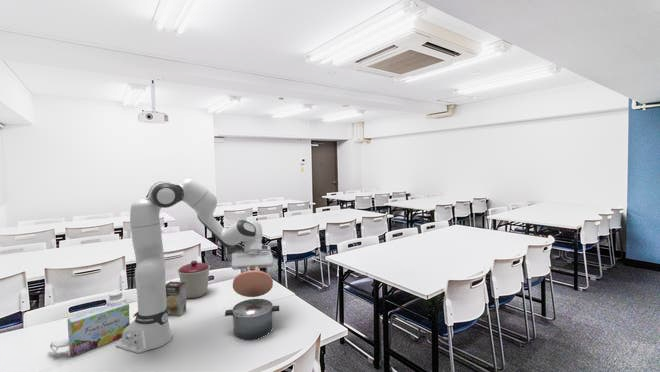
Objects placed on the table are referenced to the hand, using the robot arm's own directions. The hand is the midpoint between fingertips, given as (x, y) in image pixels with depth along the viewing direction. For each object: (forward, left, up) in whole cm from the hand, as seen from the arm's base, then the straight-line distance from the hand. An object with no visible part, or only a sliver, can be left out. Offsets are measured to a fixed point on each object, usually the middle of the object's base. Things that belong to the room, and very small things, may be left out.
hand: (252, 276), depth 148 cm
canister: (-51, +29, -25) cm, 64 cm away
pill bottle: (-70, -7, -25) cm, 75 cm away
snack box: (-61, -25, -25) cm, 70 cm away
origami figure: (-71, -33, -25) cm, 82 cm away
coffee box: (-47, +6, -25) cm, 53 cm away
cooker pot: (+1, -3, -25) cm, 25 cm away
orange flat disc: (0, +1, -5) cm, 5 cm away
